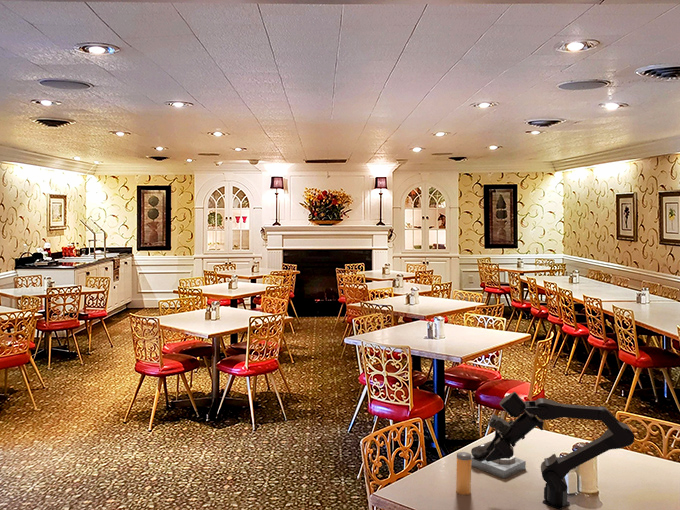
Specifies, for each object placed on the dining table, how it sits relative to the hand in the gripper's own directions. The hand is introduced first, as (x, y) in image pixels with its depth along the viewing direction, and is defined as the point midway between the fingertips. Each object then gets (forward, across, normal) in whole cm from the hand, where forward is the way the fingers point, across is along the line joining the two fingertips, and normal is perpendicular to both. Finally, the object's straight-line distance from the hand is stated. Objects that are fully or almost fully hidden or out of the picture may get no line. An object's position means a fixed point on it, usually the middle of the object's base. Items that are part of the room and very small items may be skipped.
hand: (486, 455), depth 197 cm
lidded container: (+15, 0, +4) cm, 16 cm away
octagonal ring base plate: (+7, -25, +12) cm, 29 cm away
